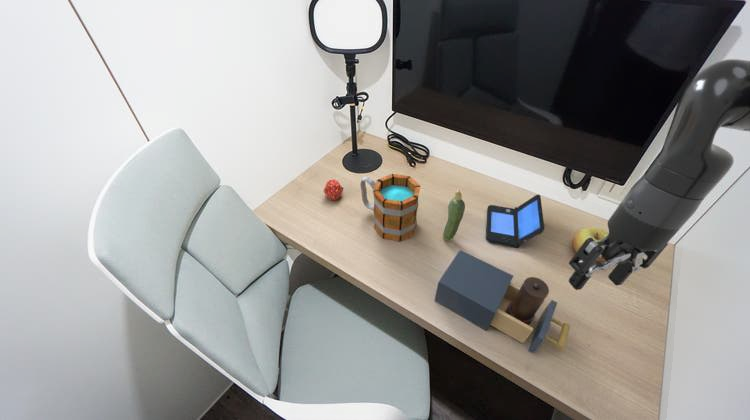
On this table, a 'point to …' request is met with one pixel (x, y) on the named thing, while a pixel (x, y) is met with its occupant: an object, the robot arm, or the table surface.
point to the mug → (393, 205)
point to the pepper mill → (528, 300)
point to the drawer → (523, 330)
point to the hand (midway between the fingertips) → (594, 283)
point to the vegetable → (454, 216)
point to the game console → (515, 223)
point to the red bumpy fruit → (333, 189)
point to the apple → (588, 233)
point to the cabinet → (472, 289)
